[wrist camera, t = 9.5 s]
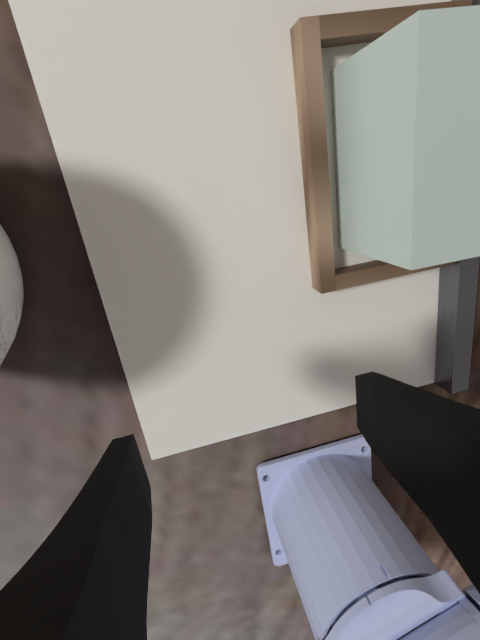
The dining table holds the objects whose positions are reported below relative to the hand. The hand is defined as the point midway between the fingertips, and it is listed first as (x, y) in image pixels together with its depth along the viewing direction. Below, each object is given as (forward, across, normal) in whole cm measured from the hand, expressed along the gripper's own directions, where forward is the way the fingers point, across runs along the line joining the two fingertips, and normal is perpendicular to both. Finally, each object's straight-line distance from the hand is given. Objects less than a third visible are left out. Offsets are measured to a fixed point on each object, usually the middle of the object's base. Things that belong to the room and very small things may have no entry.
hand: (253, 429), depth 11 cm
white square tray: (+9, -5, -5) cm, 12 cm away
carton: (+9, -10, -7) cm, 15 cm away
